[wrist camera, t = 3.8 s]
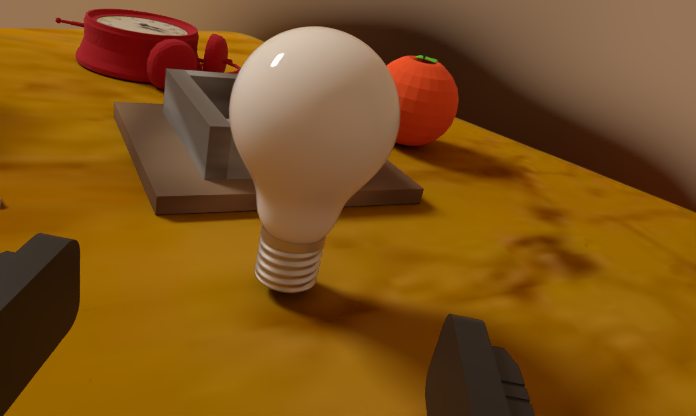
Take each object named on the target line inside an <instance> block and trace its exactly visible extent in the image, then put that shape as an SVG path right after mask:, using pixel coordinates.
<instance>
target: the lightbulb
mask: <svg viewBox="0 0 696 416" xmlns="http://www.w3.org/2000/svg"><path fill="white" fill-rule="evenodd" d="M229 121H230V128H231V133H232V137H233V140H234V143H235V146H236V148H237V151H238V153H239V155H240V157H241V159H242V161H243V163H244V165H245V166H246V168H247V170H248V172H249V174H250V176H251V178H252V180H253V182H254V185H255V190H256V201H257V211H258V216H259V219H260V221H261V223H262V225H261V232H260V233H261V236H260V239H259V242H260V244H259V246H258V254H257V262H256V264H255V276H256V278H257V279H258V280H259V281H260V282H261V283H262V284H263V285H264V286H266V287H268V288H270V289H272V290H275V291H277V292H281V293H299V292H304V291H306V290H308V289H310V288H312V287H313V286H314V285H315V283H316V281H317V274H318V272H319V266H320V258H321V257H322V250H323V248H324V244H325V239H326V235H327V234H328V233H329V232H330V231H331V230H332V228H333V227H334V225H335V224H336V222H337V220H338V218H339V215H340V213H341V211H342V209H343V207H344V205H345V204H346V202H347V201H348V200H349V199H350V198H351V197H352V196H353V195H354V194H355V193H356V192H357V191H358V190H360V189H361V188H362V187H363V186H364V185H365V184H366V183H368V182H369V181H370V180H371V179H372V178H373V177H374V176H375V175H376V174H377V173H378V171H379V170H380V169H381V168H382V166H383V165H384V164H385V162H386V161H387V159H388V157H389V156H390V154H391V152H392V150H393V147H394V145H395V142H396V139H397V136H398V131H399V125H400V102H399V96H398V92H397V88H396V85H395V82H394V80H393V78H392V75H391V73H390V72H389V70H388V68H387V66H386V65H385V64H384V62H383V61H382V60H381V58H380V57H379V56H378V55H377V54H376V53H375V52H374V51H373V50H372V49H371V48H370V47H369V46H367V45H366V44H365V43H364V42H362V41H361V40H359V39H357V38H356V37H354V36H352V35H350V34H348V33H345V32H342V31H340V30H336V29H331V28H327V27H301V28H296V29H292V30H288V31H285V32H283V33H280V34H278V35H276V36H274V37H272V38H270V39H269V40H267V41H266V42H264V43H263V44H262V45H260V46H259V47H258V48H257V49H256V50H255V51H254V52H253V53H252V54H251V55H250V56H249V57H248V59H247V60H246V61H245V63H244V64H243V66H242V67H241V69H240V71H239V73H238V75H237V77H236V80H235V82H234V85H233V88H232V92H231V97H230V104H229Z"/></svg>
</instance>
